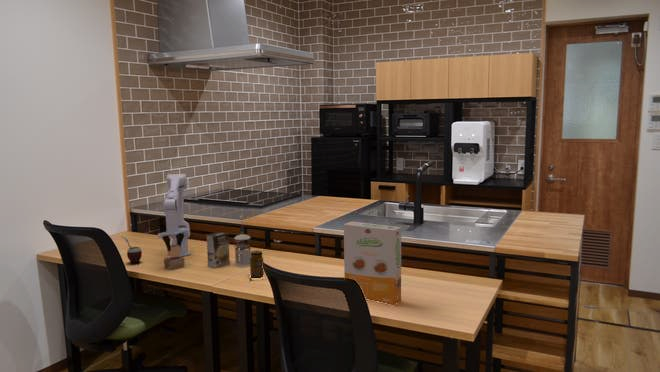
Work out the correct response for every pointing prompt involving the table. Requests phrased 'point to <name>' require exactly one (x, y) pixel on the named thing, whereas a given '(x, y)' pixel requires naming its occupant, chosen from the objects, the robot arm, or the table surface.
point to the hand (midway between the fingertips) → (173, 249)
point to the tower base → (174, 266)
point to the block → (174, 251)
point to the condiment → (256, 264)
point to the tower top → (173, 261)
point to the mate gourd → (133, 254)
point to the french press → (242, 251)
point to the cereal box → (374, 260)
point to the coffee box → (218, 249)
